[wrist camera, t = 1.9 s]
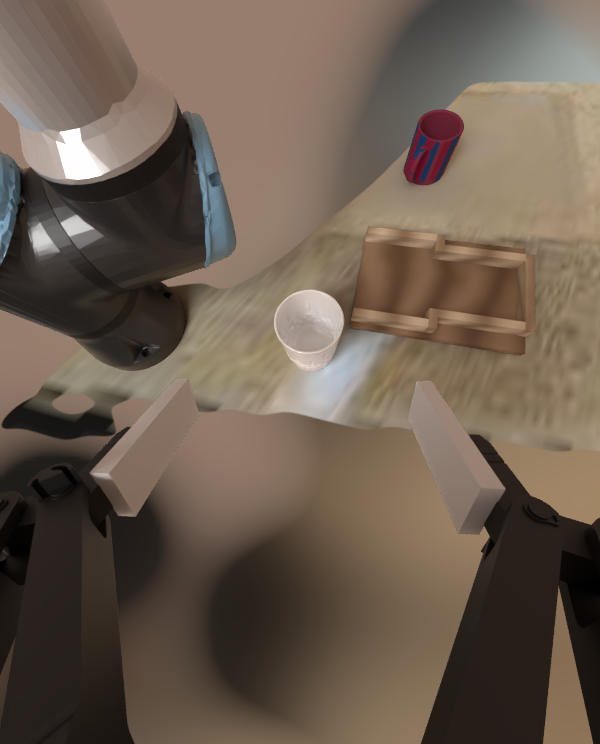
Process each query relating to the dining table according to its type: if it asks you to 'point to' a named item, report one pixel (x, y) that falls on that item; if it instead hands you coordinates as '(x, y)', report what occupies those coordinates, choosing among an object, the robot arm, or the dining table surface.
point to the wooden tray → (445, 291)
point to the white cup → (309, 328)
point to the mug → (432, 146)
